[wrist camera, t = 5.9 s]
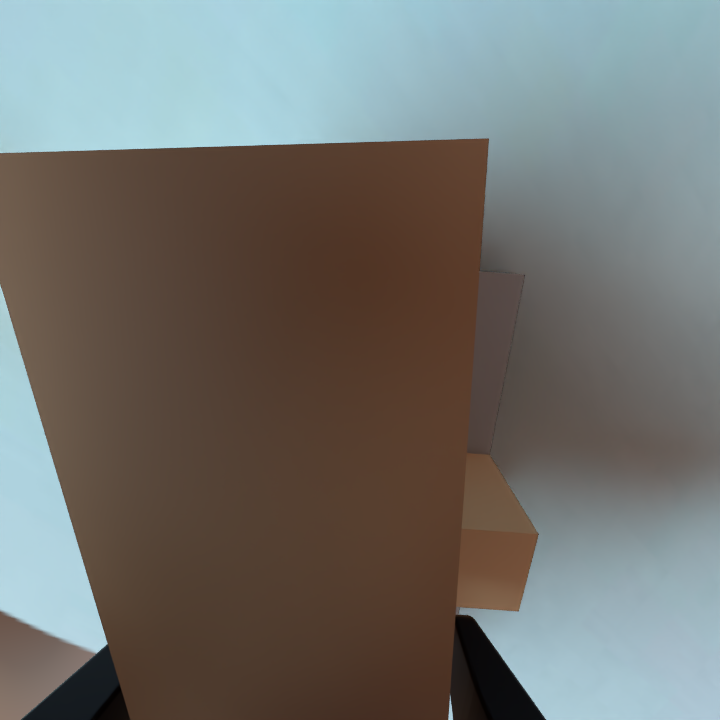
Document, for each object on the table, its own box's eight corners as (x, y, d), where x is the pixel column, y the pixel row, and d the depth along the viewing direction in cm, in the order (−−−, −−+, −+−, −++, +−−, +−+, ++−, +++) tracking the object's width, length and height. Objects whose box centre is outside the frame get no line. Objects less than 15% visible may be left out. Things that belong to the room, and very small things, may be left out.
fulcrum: (511, 273, 11) (603, 284, 7) (447, 613, 15) (480, 757, 11) (190, 249, 11) (77, 245, 7) (211, 596, 15) (148, 734, 11)
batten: (416, 207, 6) (488, 137, 3) (404, 770, 11) (425, 1047, 7) (198, 214, 7) (-39, 154, 3) (275, 768, 11) (226, 1041, 7)
